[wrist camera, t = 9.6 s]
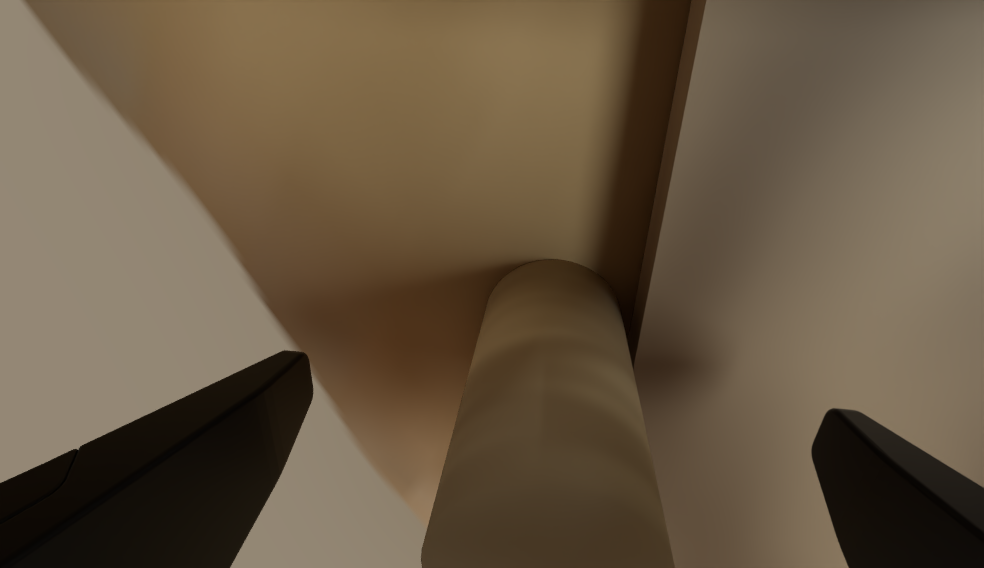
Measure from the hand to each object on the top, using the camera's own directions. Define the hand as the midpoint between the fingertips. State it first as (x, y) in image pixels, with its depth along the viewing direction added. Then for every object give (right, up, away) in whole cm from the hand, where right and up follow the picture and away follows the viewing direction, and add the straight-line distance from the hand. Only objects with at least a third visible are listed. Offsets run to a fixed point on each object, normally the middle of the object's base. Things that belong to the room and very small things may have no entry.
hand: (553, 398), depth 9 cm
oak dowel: (0, +1, +2) cm, 3 cm away
